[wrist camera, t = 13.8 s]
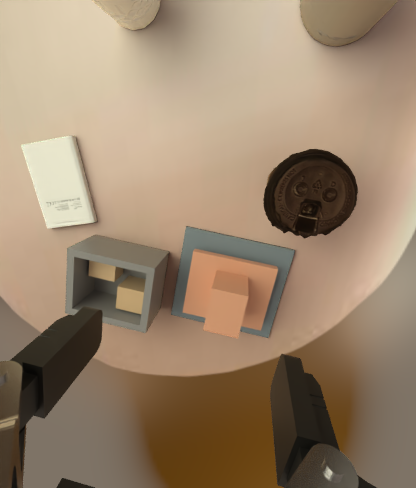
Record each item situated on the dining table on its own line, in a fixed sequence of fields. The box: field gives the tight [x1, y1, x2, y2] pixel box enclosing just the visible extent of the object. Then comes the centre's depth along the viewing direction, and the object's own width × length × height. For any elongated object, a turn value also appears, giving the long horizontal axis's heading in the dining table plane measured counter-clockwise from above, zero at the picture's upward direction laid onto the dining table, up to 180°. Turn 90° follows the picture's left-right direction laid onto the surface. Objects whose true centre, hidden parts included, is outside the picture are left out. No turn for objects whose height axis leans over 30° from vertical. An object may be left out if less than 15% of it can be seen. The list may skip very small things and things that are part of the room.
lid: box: [183, 249, 278, 338], centre depth 38 cm, size 10×12×8 cm
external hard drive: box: [21, 135, 97, 229], centre depth 41 cm, size 2×8×12 cm
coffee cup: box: [264, 149, 358, 238], centre depth 31 cm, size 9×8×13 cm
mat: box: [171, 226, 295, 338], centre depth 42 cm, size 15×16×1 cm
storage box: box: [65, 235, 169, 333], centre depth 40 cm, size 10×12×7 cm
